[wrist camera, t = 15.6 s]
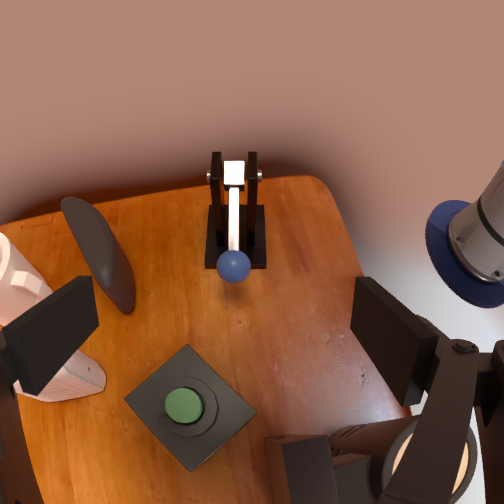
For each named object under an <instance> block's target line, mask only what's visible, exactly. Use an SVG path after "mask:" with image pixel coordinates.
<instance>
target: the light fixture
mask: <svg viewBox="0 0 504 504" xmlns="http://www.w3.org/2000/svg"><path fill="white" fill-rule="evenodd" d="M420 415H421V414H420ZM420 415H415V416H410V417H405V418H400V419H394V420H388V421H382V422H376V423H369V424H362V425H355V426H349V427H345V428H343V429H341V430H339V431H337V432H336V433H334V434H333V435H332V436H331V437H330V438H329V439H328V435H283V436H276V437H270V438H264V444H265V450H266V456H267V463H268V469H269V475H270V481H271V487H272V494H273V500H274V504H376V502H377V500H378V499H379V497H380V496H381V494H382V493H383V492H384V490H385V488H386V486H387V485H388V483H389V481H390V479H391V477H392V475H393V473H394V471H395V470H396V468H397V466H398V464H399V462H400V460H401V458H402V456H403V453H404V451H405V449H406V447H407V445H408V443H409V441H410V438H411V436H412V434H413V432H414V429H415V427H416V425H417V422H418V420H419V418H420ZM476 464H477V443H476V439H475V436H474V434H473V431H472V429H471V428H470V426H469V430H468V435H467V440H466V444H465V448H464V453H463V457H462V461H461V465H460V468H459V472H458V475H457V479H456V482H455V486H454V489H453V492H452V495H451V498H450V501H449V504H455V503H456V502H457V501H458V499H459V498H460V497H461V496H462V495H463V493H464V492H465V491H466V489H467V487H468V486H469V484H470V482H471V480H472V477H473V475H474V472H475V468H476Z"/></svg>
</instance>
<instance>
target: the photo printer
mask: <svg viewBox="0 0 504 504" xmlns="http://www.w3.org/2000/svg"><path fill="white" fill-rule="evenodd" d="M105 384H106V376H105V373H104V371H103V369H102V368H101V367H99V364H98V363H97V362H96V361H95V360H93V359H92V358H90V357H88V356H87V355H85V354H84V353H82V352H81V351H79V350H77V351H76V352H75V353H74V354H73V355H72V356H71V358H70V359H69V360H68V361H67V362H66V363H65V364H64V366H63V367H62V368H61V369H60V370H59V371H58V373H57V374H56V375H55V376H54V377H53V378H52V380H51V381H50V382H49V383H48V384H47V385H46V387H45V388H44V389H43V390H42V391H41V393H40V394H39V395H38V396H34V395H30V394H27V393H23V391H22V389H21V386H20V383H19V381H18V380H17V381H16V382H15V383H14V384H13V385H14V388H15V391H16V392H17V393H20V394H23V395H26V396H29V397H32V398H35V399H38V400H41V401H45V402H55V401H62V400H68V399H74V398H78V397H83V396H88V395H92V394H95V393H99V392H101V391H103V390H104V386H105Z"/></svg>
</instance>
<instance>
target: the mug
mask: <svg viewBox="0 0 504 504" xmlns="http://www.w3.org/2000/svg"><path fill="white" fill-rule="evenodd" d="M52 293H53V291H52V289H51V288H49V287H48V286H47V283H46V281H45V279H44V277H43V276H42V275H41V274H40V273H39V272H38V271H37V270H36V269H35V268H34V267H33V266H32V265H31V264H30V263H29V262H28V261H27V260H26V258H25V257H24V256H23V255H22V254H21V253H20V252H19V251H18V250H17V248H16V247H15V246H14V245H13V244H12V243H11V242H10V240H9V239H8V238H7V237H6V236H5V235H4V234H3V233H0V324H1V325H2V326H4V327H5V326H6V325H7V324H9V323H10V322H11V321H13V320H14V319H16V318H17V317H19V316H20V315H21V314H23V313H24V312H26V311H27V310H28V309H30V308H31V307H33V306H34V305H36V304H37V303H39V302H40V301H42V300H43V299H44V298H46V297H47V296H49V295H50V294H52Z"/></svg>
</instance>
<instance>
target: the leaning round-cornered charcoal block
mask: <svg viewBox="0 0 504 504" xmlns="http://www.w3.org/2000/svg"><path fill="white" fill-rule="evenodd" d="M61 209H62V212H63V214H64V216H65V218H66V221H67V223H68V225H69V227H70V229H71V231H72V233H73V236H74V238H75V240H76V242H77V244H78V246H79V248H80V250H81V252H82V254H83V256H84V258H85V260H86V262H87V264H88V266H89V268H90V269H91V271H92V273H93V275H94V277H95V279H96V281H97V282H98V284H99V285H100V287H101V288H102V290H103V291H104V292H105V293H106V294H107V296H108V297H109V298H110V299H111V300H112V302H113V303H114V304H115V305H116V306H117V307H118V309H119V310H120V311H121V312H123V313H128V312H130V311H131V309H132V307H133V305H134V300H135V285H134V278H133V274H132V270H131V267H130V265H129V262H128V260H127V258H126V256H125V255H124V253H123V251H122V249H121V247H120V246H119V244H118V242H117V240H116V238H115V236H114V234H113V233H112V231H111V229H110V227H109V225H108V223H107V222H106V220H105V218H104V217H103V216H102V214H101V213H100V212H99V211H98V210H97V209H96V208H95V207H93V206H92V205H91V204H89V203H87V202H86V201H84V200H81V199H78V198H74V197H67V198H64V199H63V200H62V202H61Z"/></svg>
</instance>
